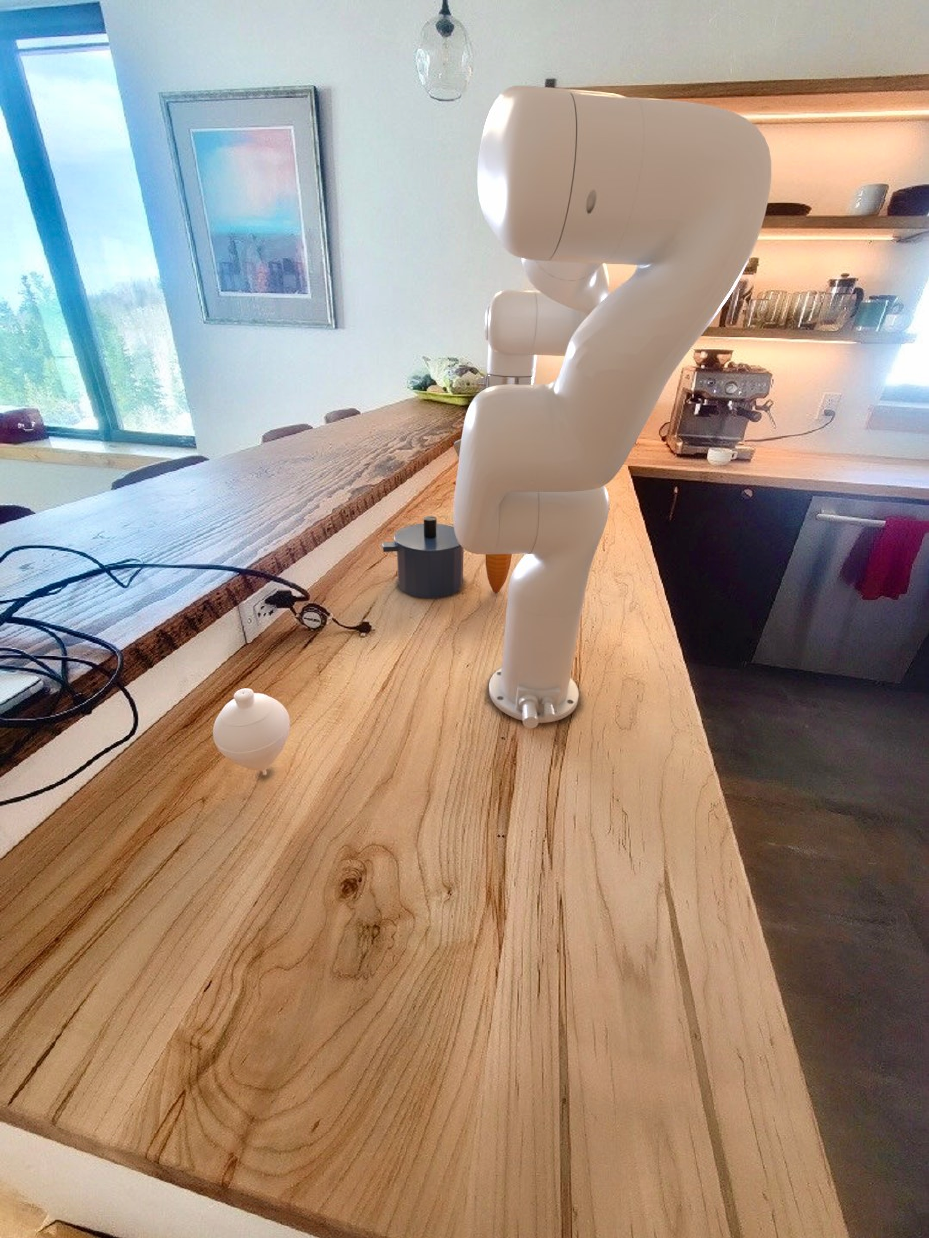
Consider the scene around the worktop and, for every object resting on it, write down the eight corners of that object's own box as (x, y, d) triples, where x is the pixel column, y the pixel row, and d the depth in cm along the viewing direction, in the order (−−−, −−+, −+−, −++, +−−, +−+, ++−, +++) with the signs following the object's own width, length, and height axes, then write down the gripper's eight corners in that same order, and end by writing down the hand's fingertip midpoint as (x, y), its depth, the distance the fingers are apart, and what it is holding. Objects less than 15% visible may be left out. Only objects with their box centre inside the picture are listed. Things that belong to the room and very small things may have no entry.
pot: (481, 594, 97) (484, 548, 92) (387, 601, 93) (385, 554, 88) (467, 566, 107) (468, 524, 102) (382, 572, 104) (379, 529, 99)
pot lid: (473, 553, 91) (474, 529, 89) (398, 558, 89) (397, 533, 86) (457, 527, 103) (458, 505, 100) (391, 530, 100) (389, 508, 98)
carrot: (506, 600, 95) (513, 525, 87) (480, 597, 96) (484, 522, 88) (510, 589, 99) (516, 516, 91) (485, 586, 100) (489, 513, 92)
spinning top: (275, 740, 62) (256, 662, 56) (313, 771, 58) (297, 690, 52) (215, 777, 57) (188, 695, 51) (252, 814, 53) (227, 730, 47)
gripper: (453, 388, 76) (451, 499, 85) (568, 393, 75) (554, 503, 84) (456, 382, 82) (454, 485, 91) (562, 386, 82) (549, 490, 91)
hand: (502, 494), depth 88 cm, fingers open, 9 cm apart
